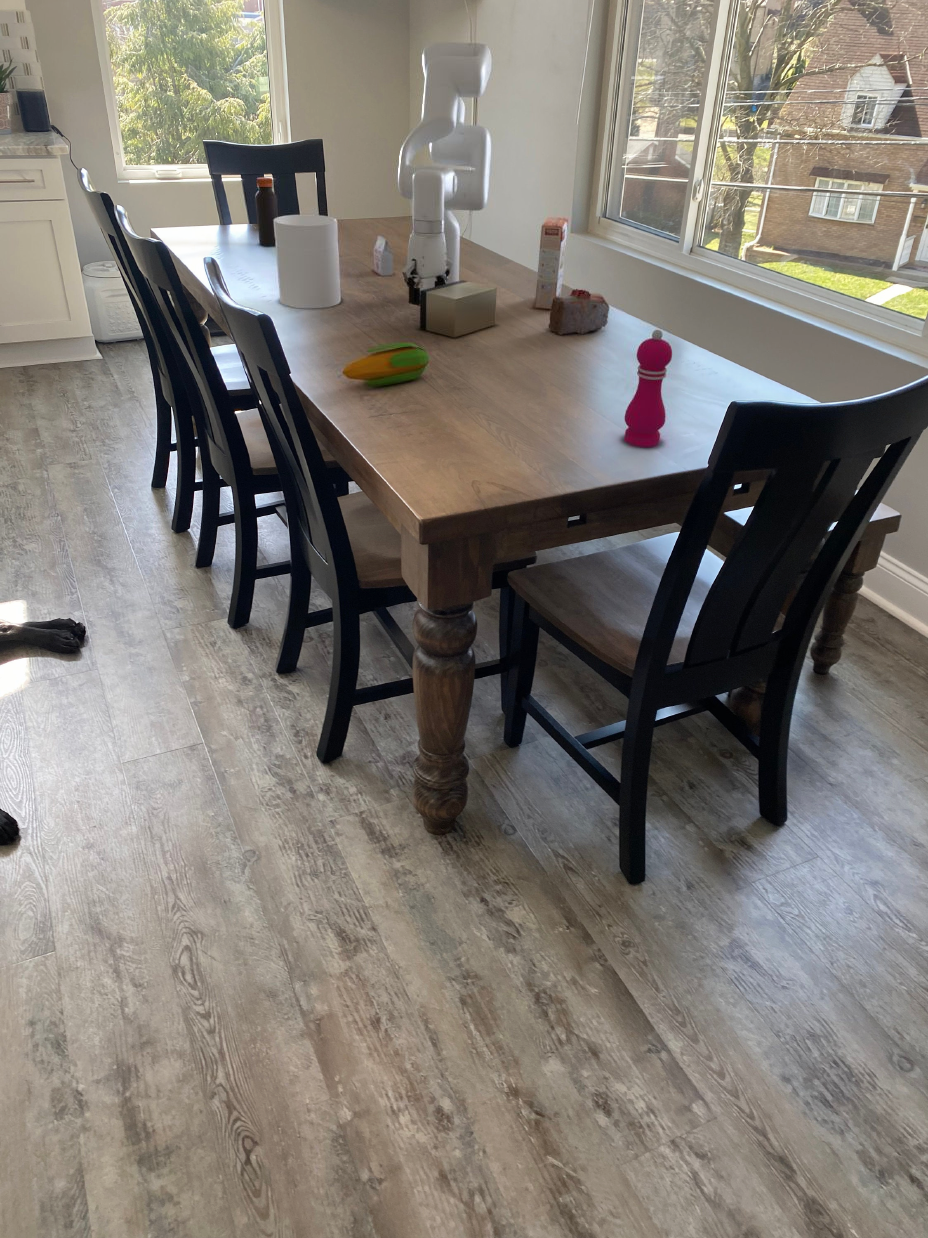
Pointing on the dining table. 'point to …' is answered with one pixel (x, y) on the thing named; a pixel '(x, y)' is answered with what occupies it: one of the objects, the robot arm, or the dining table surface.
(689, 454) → the dining table surface
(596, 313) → the food item
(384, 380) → the corn
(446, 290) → the box
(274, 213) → the bottle
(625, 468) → the dining table surface
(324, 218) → the canister
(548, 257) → the cracker box
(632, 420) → the pepper mill
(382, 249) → the milk carton
